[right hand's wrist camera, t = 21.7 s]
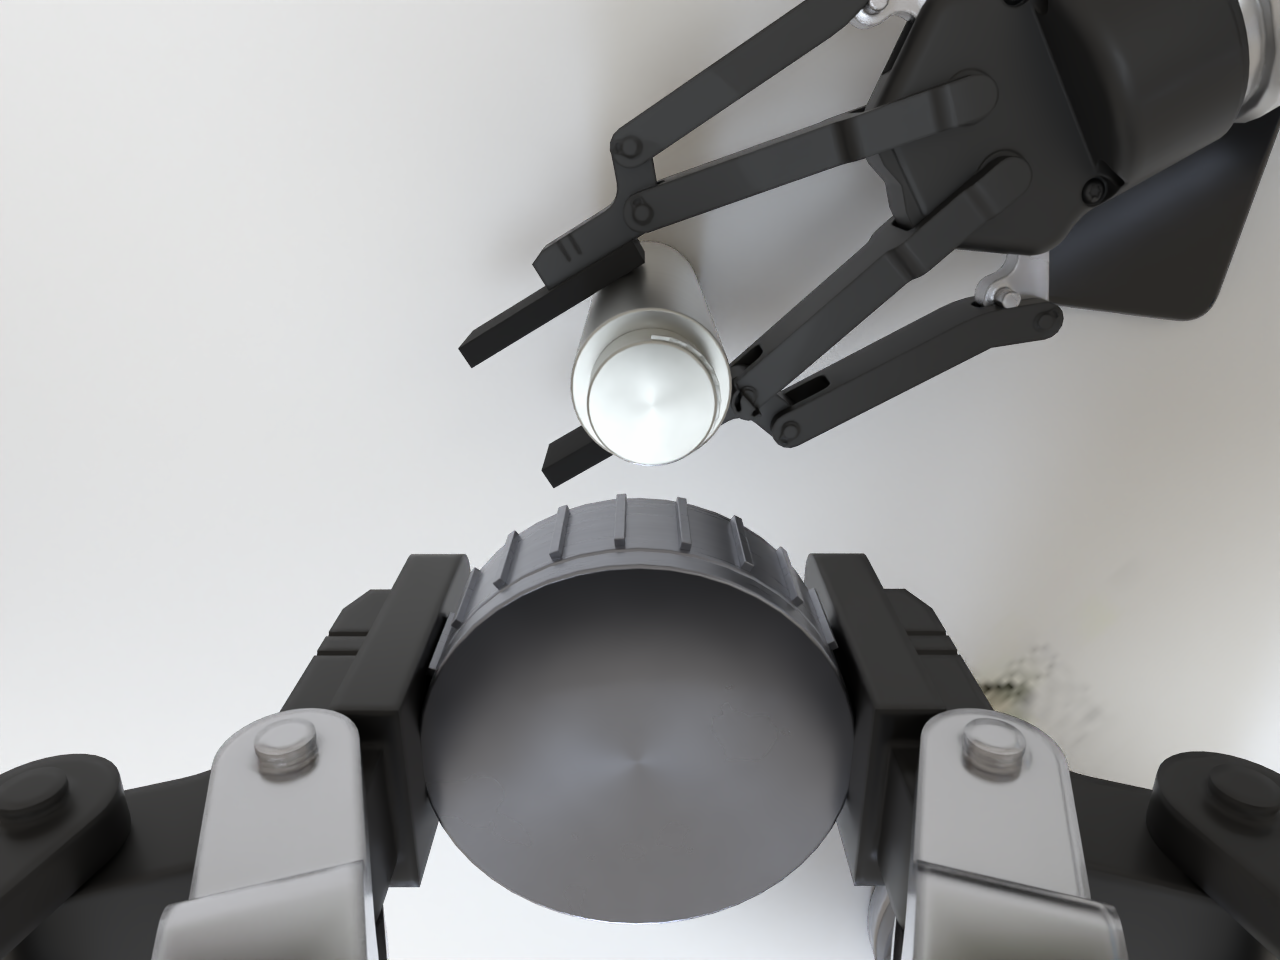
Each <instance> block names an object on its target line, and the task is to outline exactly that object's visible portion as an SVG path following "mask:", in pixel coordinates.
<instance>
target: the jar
mask: <svg viewBox="0 0 1280 960" xmlns="http://www.w3.org/2000/svg"><path fill="white" fill-rule="evenodd" d="M640 244H641V246H642V247H643V249H644V251H645V263H644V264H642V265H641V266H639V267H637V268H636V269H634V270H632V271H631V272H629V273H628V274H626V275H624V276H623V277H621V278H619V279H618V280H616V281H614V282H613V283H611V284H609V285H608V286H606V287H604V288H603V289H601V290H600V291H598V292H596V293H595V294H594V295H593V298H592V302H591V305H590V309H589V312H588V316H587V319H586V323H585V326H584V330H583V333H582V337H581V340H580V344H579V347H578V351H577V354H576V358H575V361H574V365H573V369H572V375H571V398H572V402H573V406H574V410H575V412H576V415H577V418H578V419H579V421H580V423H581V425H582V427H583V428H584V429H585V431H586V432H587V434H588V435H589V436H590V437H591V438H592V439H593V440H594V441H595V442H596V443H597V444H598V445H599V446H601V447H602V448H603V449H605V450H606V451H608V452H610V453H611V454H613V455H615V456H617V457H619V458H621V459H623V460H625V461H627V462H630V463H634V464H638V465H643V466H659V465H665V464H670V463H673V462H676V461H678V460H680V459H682V458H684V457H686V456H688V455H689V454H691V453H692V452H694V451H696V450H697V449H699V448H700V447H701V446H703V445H704V444H705V443H706V442H707V441H708V440H709V439H710V438H711V437H712V436H713V435H714V434H715V432H716V431H717V430H718V428H719V427H720V425H721V424H722V422H723V420H724V418H725V416H726V413H727V411H728V408H729V404H730V400H731V393H732V376H731V371H730V366H729V363H728V360H727V357H726V354H725V351H724V349H723V346H722V343H721V341H720V338H719V335H718V333H717V330H716V327H715V325H714V322H713V319H712V317H711V314H710V312H709V309H708V306H707V304H706V301H705V298H704V296H703V293H702V290H701V288H700V285H699V282H698V280H697V277H696V274H695V272H694V270H693V268H692V266H691V265H690V263H689V262H688V261H687V259H686V258H685V257H684V256H683V255H682V254H681V253H679V252H678V251H677V250H675V249H674V248H672V247H670V246H668V245H665V244H662V243H658V242H650V241H645V242H640Z"/></svg>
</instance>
